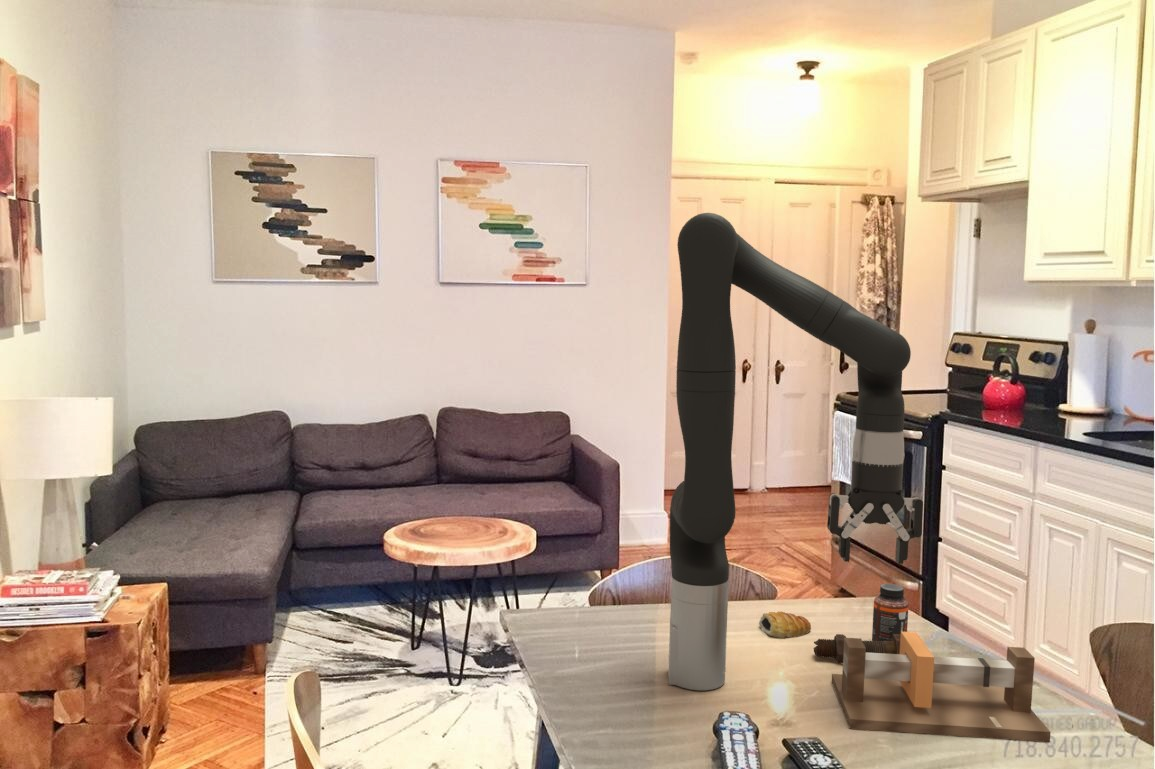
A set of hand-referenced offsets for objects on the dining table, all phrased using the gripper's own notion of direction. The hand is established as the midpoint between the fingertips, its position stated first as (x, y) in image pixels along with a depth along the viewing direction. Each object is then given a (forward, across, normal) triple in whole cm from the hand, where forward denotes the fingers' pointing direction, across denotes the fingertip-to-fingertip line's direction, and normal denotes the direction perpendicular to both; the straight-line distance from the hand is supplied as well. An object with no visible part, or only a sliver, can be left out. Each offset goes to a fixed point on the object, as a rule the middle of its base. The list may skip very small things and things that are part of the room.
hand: (872, 561), depth 142 cm
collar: (+19, -6, +4) cm, 21 cm away
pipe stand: (+22, -10, +4) cm, 24 cm away
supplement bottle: (+22, -9, -21) cm, 32 cm away
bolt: (+22, -2, -14) cm, 27 cm away
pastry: (+22, +10, -27) cm, 36 cm away
